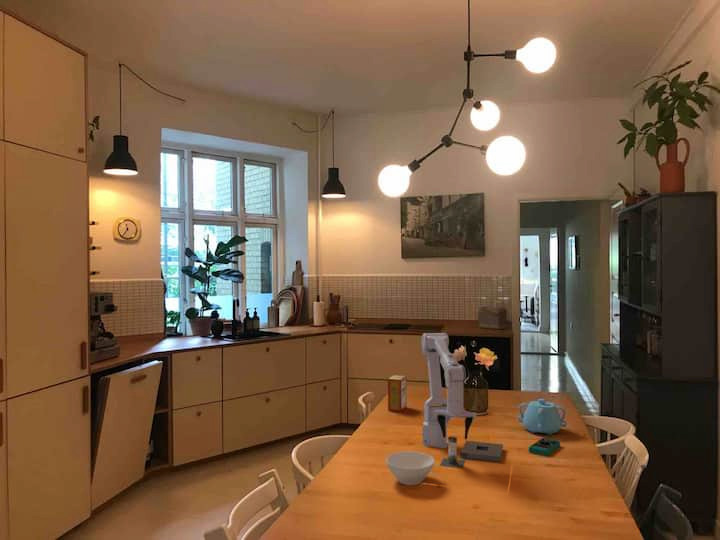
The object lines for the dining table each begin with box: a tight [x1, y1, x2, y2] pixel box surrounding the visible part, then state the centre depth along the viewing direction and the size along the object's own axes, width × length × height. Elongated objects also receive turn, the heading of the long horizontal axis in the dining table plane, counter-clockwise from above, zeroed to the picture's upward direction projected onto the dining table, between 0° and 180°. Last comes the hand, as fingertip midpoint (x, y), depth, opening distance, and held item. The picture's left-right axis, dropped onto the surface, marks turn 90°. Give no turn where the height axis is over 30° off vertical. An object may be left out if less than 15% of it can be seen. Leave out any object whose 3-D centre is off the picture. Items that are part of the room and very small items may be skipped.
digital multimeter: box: [528, 437, 561, 457], centre depth 208 cm, size 7×15×3 cm, turn 141°
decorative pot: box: [517, 398, 568, 436], centre depth 231 cm, size 16×16×14 cm
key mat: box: [439, 457, 467, 469], centre depth 193 cm, size 8×8×1 cm
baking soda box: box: [387, 374, 407, 413], centre depth 267 cm, size 10×6×16 cm
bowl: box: [385, 450, 435, 486], centre depth 178 cm, size 16×16×7 cm
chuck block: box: [460, 440, 504, 463], centre depth 202 cm, size 14×14×2 cm
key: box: [447, 436, 458, 465], centre depth 192 cm, size 3×3×9 cm
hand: (455, 437), depth 193 cm, fingers open, 7 cm apart
